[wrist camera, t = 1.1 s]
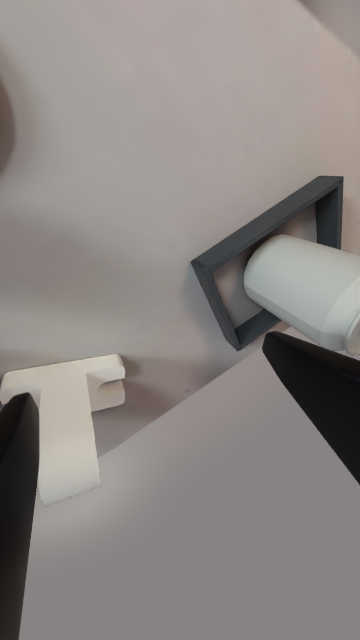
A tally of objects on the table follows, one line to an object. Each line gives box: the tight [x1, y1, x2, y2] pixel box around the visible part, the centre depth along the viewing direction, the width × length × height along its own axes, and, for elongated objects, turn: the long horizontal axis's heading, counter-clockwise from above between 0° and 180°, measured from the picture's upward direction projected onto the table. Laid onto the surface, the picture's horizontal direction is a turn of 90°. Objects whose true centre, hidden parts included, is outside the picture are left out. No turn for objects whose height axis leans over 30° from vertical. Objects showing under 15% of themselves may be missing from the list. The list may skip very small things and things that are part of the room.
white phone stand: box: [0, 354, 125, 507], centre depth 19 cm, size 5×10×10 cm, turn 84°
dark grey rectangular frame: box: [191, 176, 344, 351], centre depth 25 cm, size 15×12×2 cm
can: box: [243, 234, 360, 356], centre depth 21 cm, size 8×8×12 cm
